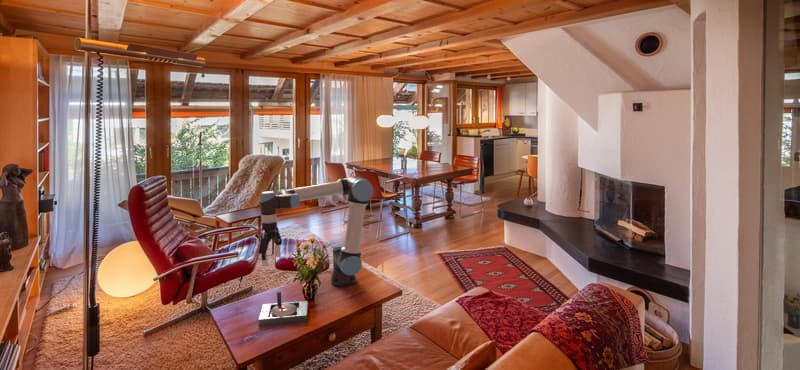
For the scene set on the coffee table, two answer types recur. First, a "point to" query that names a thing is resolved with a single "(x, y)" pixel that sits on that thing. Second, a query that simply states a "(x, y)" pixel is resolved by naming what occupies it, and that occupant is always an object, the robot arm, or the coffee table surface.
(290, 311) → the dial
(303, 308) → the dial housing
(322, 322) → the coffee table surface
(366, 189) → the robot arm
